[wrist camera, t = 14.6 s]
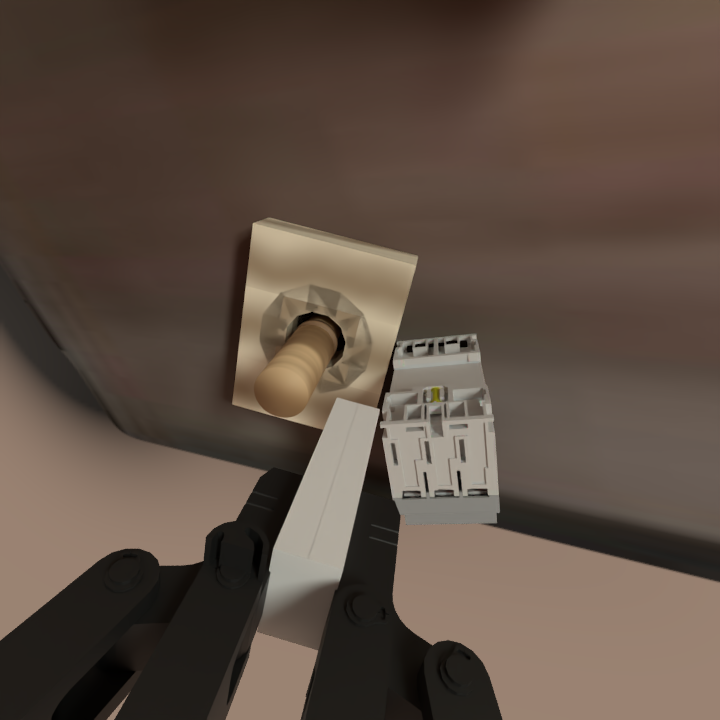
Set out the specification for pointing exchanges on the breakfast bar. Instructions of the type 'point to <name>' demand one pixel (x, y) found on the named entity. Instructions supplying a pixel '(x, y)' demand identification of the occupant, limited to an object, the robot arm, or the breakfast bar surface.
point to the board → (321, 310)
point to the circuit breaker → (440, 434)
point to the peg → (297, 367)
